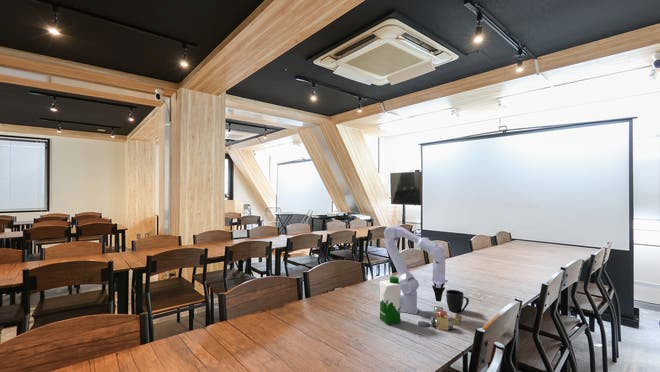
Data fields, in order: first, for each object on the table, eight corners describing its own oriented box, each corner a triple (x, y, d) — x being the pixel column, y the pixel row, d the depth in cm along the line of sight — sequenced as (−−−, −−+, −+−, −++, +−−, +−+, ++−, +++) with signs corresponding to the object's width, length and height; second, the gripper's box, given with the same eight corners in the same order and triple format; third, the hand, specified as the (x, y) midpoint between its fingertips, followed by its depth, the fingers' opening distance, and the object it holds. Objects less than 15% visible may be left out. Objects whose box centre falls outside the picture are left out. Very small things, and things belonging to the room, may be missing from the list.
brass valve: (431, 327, 132) (431, 312, 132) (431, 323, 137) (431, 308, 137) (453, 331, 129) (453, 315, 129) (453, 327, 133) (453, 311, 134)
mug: (461, 318, 143) (461, 298, 144) (442, 309, 154) (442, 290, 154) (473, 315, 147) (473, 296, 147) (454, 306, 158) (454, 288, 158)
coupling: (433, 319, 141) (433, 308, 142) (433, 315, 146) (433, 305, 146) (443, 320, 140) (443, 310, 140) (443, 317, 144) (443, 306, 144)
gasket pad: (417, 325, 134) (417, 325, 134) (418, 320, 139) (418, 320, 139) (430, 327, 132) (430, 327, 132) (430, 322, 137) (430, 322, 137)
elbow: (452, 324, 136) (452, 315, 136) (451, 322, 138) (451, 314, 138) (461, 324, 136) (461, 316, 136) (459, 323, 138) (459, 314, 138)
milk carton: (403, 323, 136) (403, 279, 136) (386, 326, 133) (386, 281, 133) (392, 316, 144) (393, 274, 145) (376, 318, 141) (377, 276, 142)
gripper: (447, 275, 135) (447, 305, 135) (447, 267, 149) (447, 295, 148) (431, 273, 138) (431, 302, 137) (432, 266, 151) (432, 293, 151)
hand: (438, 298), depth 143 cm, fingers open, 7 cm apart
